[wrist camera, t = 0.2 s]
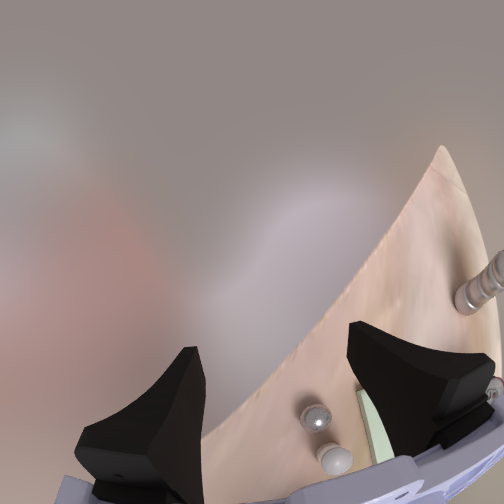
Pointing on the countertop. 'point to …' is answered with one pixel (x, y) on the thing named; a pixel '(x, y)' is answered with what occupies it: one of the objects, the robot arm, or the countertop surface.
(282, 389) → the countertop surface
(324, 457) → the shaker
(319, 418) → the ball
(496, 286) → the plastic bottle
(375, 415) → the tray
